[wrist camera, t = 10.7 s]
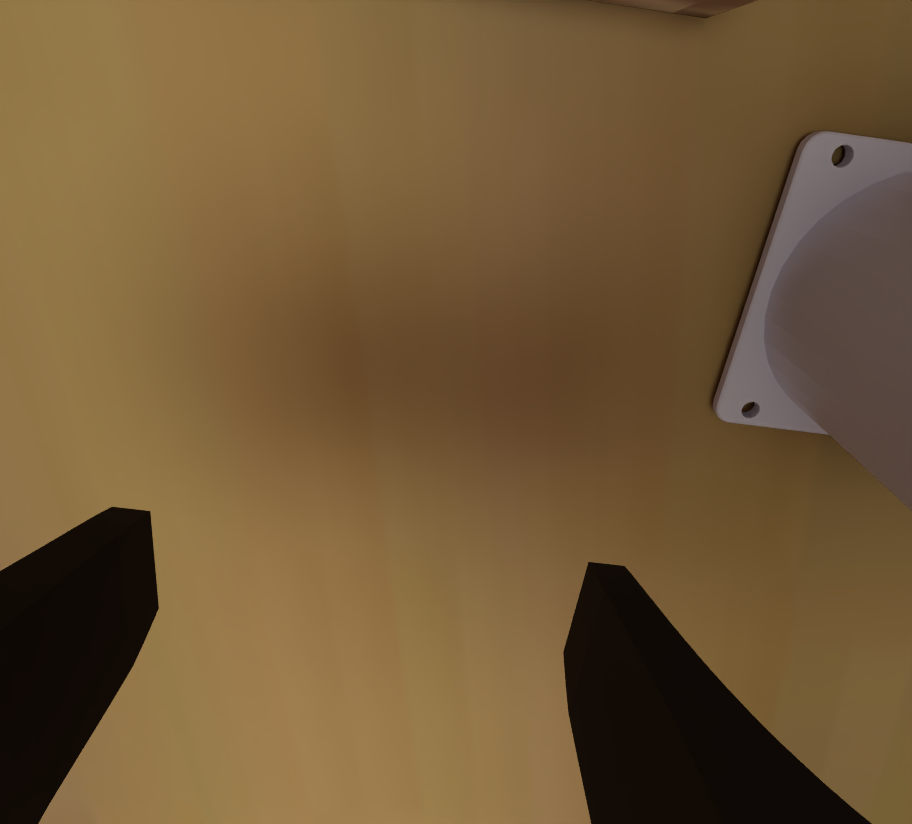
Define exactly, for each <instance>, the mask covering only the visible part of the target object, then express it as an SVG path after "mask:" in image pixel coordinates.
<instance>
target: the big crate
mask: <svg viewBox="0 0 912 824" xmlns="http://www.w3.org/2000/svg"><path fill="white" fill-rule="evenodd" d="M590 1H597V2H603V3H610V4H617V5H623V6H630V7H637V8H643V9H650V10H657V11H663V12H670V13H677V14H683V15H690V16H697V17H703V18H707V17H710V16H713V15H716V14H719V13H722V12H725V11H728V10H731V9H734V8H737V7H740V6H743V5H746V4H749V3H751V2H754V1H757V0H590Z"/></svg>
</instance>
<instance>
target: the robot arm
mask: <svg viewBox="0 0 912 824" xmlns="http://www.w3.org/2000/svg"><path fill="white" fill-rule="evenodd" d="M841 145H843V147H844V149H845V157H844V158H843V160H842V162H840V163H839V164H838V165H836V166H834V165H833V163H832V154H833V153H834V151H835V149H836V148H838V147H839V146H841ZM749 402H754V406H753V408H752V409H751V410H749V411H748V412H742V408H743V406H744V405H745V404H747V403H749ZM713 409H714V412H715V413H716V415H717V416H718V417H719V418H720V419H721V420H722V421H725V422H729V423H737V424H745V425H754V426H762V427H770V428H778V429H786V430H794V431H802V432H811V433H819V434H827V435H830V436H831V437H832V438H833V439H834V440H835V441H836V442H837V443H839V444H840V445H841V446H842V447H843V448H844V449H845V450H846V451H847V452H848V453H849V454H851V455H852V456H853V457H854V458H855V459H856V460H857V461H858V462H859V463H860V464H861V465H862V466H864V467H865V468H866V469H867V470H868V471H869V472H870V473H871V474H872V475H873V476H874V477H875V478H877V479H878V480H879V481H880V482H881V483H882V484H883V485H884V486H885V487H886V488H887V489H889V490H890V491H891V492H892V493H893V494H894V495H895V496H896V497H897V498H898V499H899V500H900V501H902V502H903V503H904V504H905V505H906V506H907V507H908V508H909V509H910V510H911V511H912V143H907V142H900V141H893V140H886V139H879V138H872V137H865V136H858V135H851V134H844V133H837V132H830V131H815V132H813V133H811V134H809V135H807V136H806V137H805V138H804V139H803V140H802V141H801V143H800V145H799V147H798V148H797V151H796V154H795V157H794V160H793V163H792V166H791V169H790V172H789V175H788V178H787V181H786V184H785V187H784V190H783V193H782V196H781V199H780V202H779V205H778V208H777V211H776V214H775V217H774V220H773V223H772V226H771V229H770V232H769V235H768V238H767V241H766V244H765V247H764V250H763V253H762V256H761V259H760V262H759V265H758V268H757V271H756V274H755V277H754V280H753V283H752V286H751V289H750V292H749V295H748V298H747V301H746V304H745V307H744V310H743V313H742V316H741V319H740V322H739V325H738V328H737V331H736V334H735V337H734V340H733V343H732V346H731V349H730V352H729V355H728V358H727V361H726V364H725V367H724V370H723V373H722V376H721V379H720V382H719V385H718V388H717V391H716V394H715V397H714V400H713ZM158 609H159V606H158V595H157V583H156V572H155V561H154V549H153V538H152V526H151V515H150V511H144V510H135V509H126V508H118V507H111V508H109V509H107V510H105V511H103V512H101V513H99V514H98V515H96V516H94V517H92V518H90V519H89V520H87V521H85V522H83V523H82V524H80V525H78V526H77V527H75V528H73V529H71V530H70V531H68V532H66V533H65V534H63V535H61V536H60V537H58V538H56V539H55V540H53V541H51V542H49V543H48V544H46V545H44V546H43V547H41V548H39V549H38V550H36V551H34V552H32V553H31V554H29V555H27V556H26V557H24V558H22V559H20V560H19V561H17V562H15V563H13V564H12V565H10V566H8V567H6V568H5V569H3V570H1V571H0V824H38V823H39V821H40V819H41V818H42V816H43V814H44V812H45V811H46V809H47V807H48V805H49V803H50V802H51V800H52V799H53V797H54V795H55V794H56V792H57V790H58V789H59V787H60V786H61V784H62V782H63V781H64V779H65V777H66V776H67V774H68V772H69V771H70V769H71V768H72V766H73V764H74V763H75V761H76V759H77V758H78V756H79V754H80V753H81V751H82V750H83V748H84V746H85V745H86V743H87V741H88V740H89V738H90V737H91V735H92V733H93V732H94V730H95V728H96V727H97V725H98V723H99V722H100V720H101V719H102V717H103V715H104V714H105V712H106V710H107V709H108V707H109V705H110V704H111V702H112V700H113V699H114V697H115V695H116V694H117V692H118V690H119V689H120V687H121V685H122V684H123V682H124V680H125V679H126V677H127V675H128V674H129V672H130V670H131V668H132V667H133V665H134V663H135V660H136V658H137V656H138V654H139V652H140V650H141V648H142V645H143V643H144V641H145V639H146V637H147V634H148V632H149V630H150V627H151V625H152V623H153V620H154V618H155V616H156V613H157V611H158ZM563 654H564V667H565V680H566V692H567V702H568V712H569V717H570V723H571V728H572V733H573V738H574V743H575V747H576V752H577V757H578V762H579V767H580V772H581V776H582V781H583V786H584V791H585V796H586V800H587V805H588V810H589V815H590V819H591V824H871V823H870V822H869V821H868V820H866V819H865V818H864V817H863V816H862V815H860V814H859V813H858V812H857V811H856V810H854V809H853V808H852V807H851V806H849V805H848V804H847V803H846V802H845V801H844V800H843V799H841V798H840V797H839V796H838V795H837V794H836V793H835V792H833V791H832V790H831V789H830V788H829V787H828V786H826V785H825V784H824V783H823V782H822V781H821V780H820V779H819V778H818V777H817V776H815V775H814V774H813V773H812V772H811V771H810V770H809V769H808V768H807V767H806V766H805V765H804V764H803V763H801V762H800V761H799V760H798V759H797V758H796V757H795V756H794V755H793V754H792V753H791V752H790V751H789V750H788V749H786V748H785V747H784V746H783V745H782V744H781V743H780V742H779V741H778V740H777V739H776V738H775V737H774V736H773V735H772V734H771V733H770V732H769V731H768V730H767V729H766V728H765V727H764V726H763V725H762V724H761V723H760V722H759V721H758V720H757V719H756V718H755V717H754V716H753V715H752V714H751V713H750V712H749V711H748V710H747V709H746V708H745V707H744V705H743V704H742V703H741V702H740V701H739V700H738V699H737V698H736V697H735V696H734V695H733V694H732V693H731V692H730V691H729V690H728V689H727V688H726V686H725V685H724V684H723V683H722V682H721V681H720V680H719V679H718V678H717V676H716V675H715V674H714V673H713V672H712V671H711V670H710V669H709V668H708V666H707V665H706V664H705V663H704V662H703V661H702V659H701V658H700V657H699V656H698V655H697V654H696V653H695V651H694V650H693V649H692V648H691V647H690V645H689V644H688V643H687V642H686V641H685V640H684V638H683V637H682V636H681V635H680V634H679V632H678V631H677V630H676V629H675V628H674V626H673V625H672V624H671V623H670V621H669V620H668V619H667V618H666V617H665V615H664V614H663V613H662V612H661V610H660V609H659V608H658V607H657V605H656V604H655V603H654V602H653V600H652V599H651V598H650V597H649V595H648V594H647V593H646V592H645V590H644V589H643V588H642V587H641V585H640V584H639V583H638V582H637V580H636V579H635V578H634V577H633V576H632V574H631V573H630V572H629V571H628V570H627V568H626V567H625V566H619V565H610V564H602V563H593V562H588V566H587V570H586V573H585V577H584V580H583V584H582V588H581V591H580V595H579V598H578V602H577V605H576V609H575V613H574V616H573V620H572V623H571V627H570V631H569V634H568V638H567V641H566V645H565V649H564V652H563Z"/></svg>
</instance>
